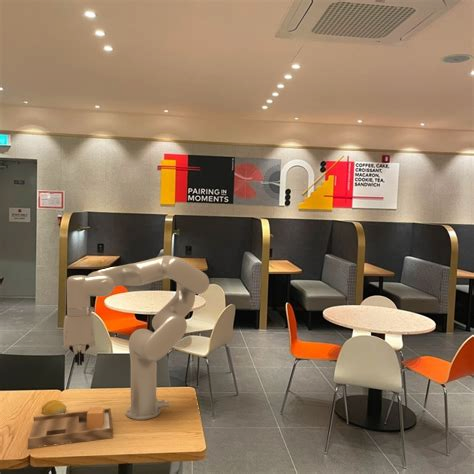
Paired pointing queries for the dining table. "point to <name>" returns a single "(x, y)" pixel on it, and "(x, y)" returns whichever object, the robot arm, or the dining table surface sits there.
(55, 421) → the box
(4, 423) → the dining table surface
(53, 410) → the bread roll
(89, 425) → the orange block
